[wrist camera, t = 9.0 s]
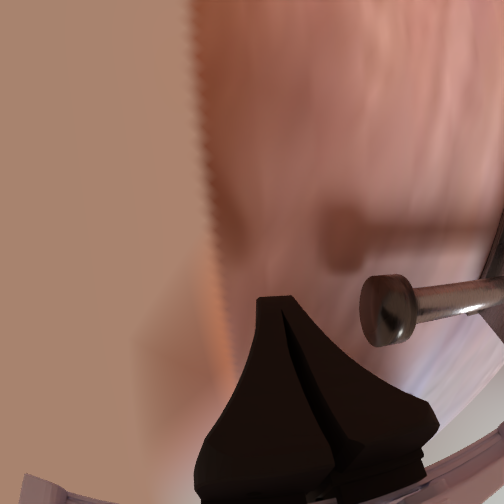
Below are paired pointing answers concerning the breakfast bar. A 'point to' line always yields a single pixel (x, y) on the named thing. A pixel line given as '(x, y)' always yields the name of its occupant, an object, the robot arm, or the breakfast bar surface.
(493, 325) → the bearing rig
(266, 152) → the breakfast bar surface
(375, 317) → the shaft
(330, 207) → the breakfast bar surface
